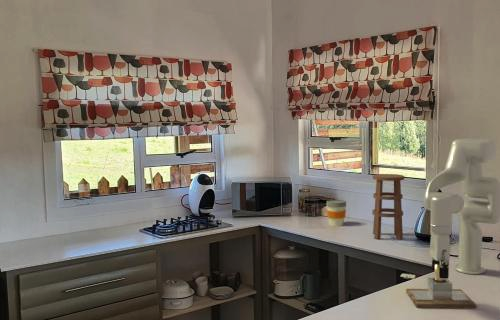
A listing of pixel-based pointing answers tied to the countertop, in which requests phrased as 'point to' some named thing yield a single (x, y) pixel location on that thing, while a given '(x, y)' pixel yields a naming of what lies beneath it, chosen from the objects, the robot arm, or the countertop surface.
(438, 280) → the hinge pin
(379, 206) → the stool
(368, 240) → the countertop surface
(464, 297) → the grey stepped block
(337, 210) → the reusable coffee cup
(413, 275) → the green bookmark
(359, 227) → the countertop surface
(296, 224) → the countertop surface
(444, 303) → the walnut board
